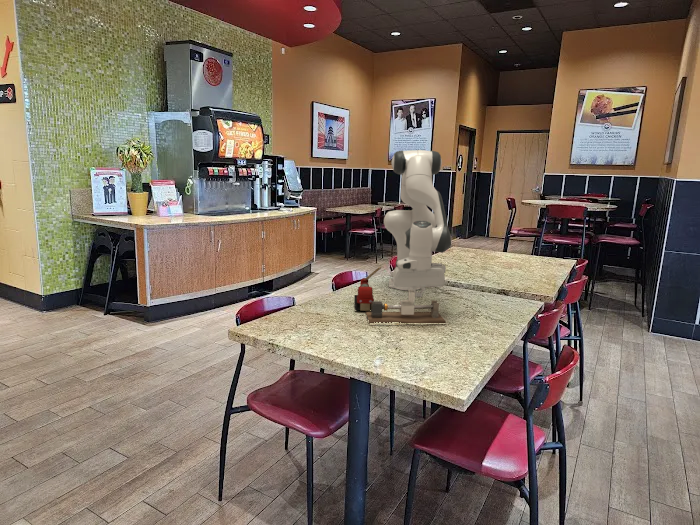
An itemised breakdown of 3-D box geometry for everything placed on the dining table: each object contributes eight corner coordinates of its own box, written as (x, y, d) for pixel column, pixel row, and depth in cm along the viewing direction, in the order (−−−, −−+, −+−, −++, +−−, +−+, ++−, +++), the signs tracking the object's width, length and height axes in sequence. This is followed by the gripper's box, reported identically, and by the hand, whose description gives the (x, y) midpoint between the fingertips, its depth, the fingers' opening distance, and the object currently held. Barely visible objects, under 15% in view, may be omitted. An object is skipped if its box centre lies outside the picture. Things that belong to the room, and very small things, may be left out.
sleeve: (399, 311, 186) (400, 289, 184) (411, 311, 186) (412, 289, 184) (401, 314, 182) (402, 292, 180) (413, 314, 182) (415, 292, 180)
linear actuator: (365, 315, 189) (366, 297, 187) (437, 315, 192) (438, 297, 190) (369, 325, 177) (370, 306, 176) (445, 325, 180) (446, 306, 178)
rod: (370, 315, 185) (371, 301, 184) (435, 314, 187) (436, 301, 186) (372, 318, 181) (372, 304, 180) (437, 317, 183) (438, 303, 182)
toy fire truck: (354, 312, 192) (355, 271, 189) (354, 301, 208) (355, 263, 204) (381, 313, 192) (383, 272, 189) (379, 302, 208) (380, 264, 204)
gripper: (443, 261, 184) (441, 294, 187) (393, 261, 182) (391, 294, 185) (448, 264, 178) (445, 299, 181) (396, 264, 176) (394, 299, 179)
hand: (418, 297), depth 183 cm, fingers closed
